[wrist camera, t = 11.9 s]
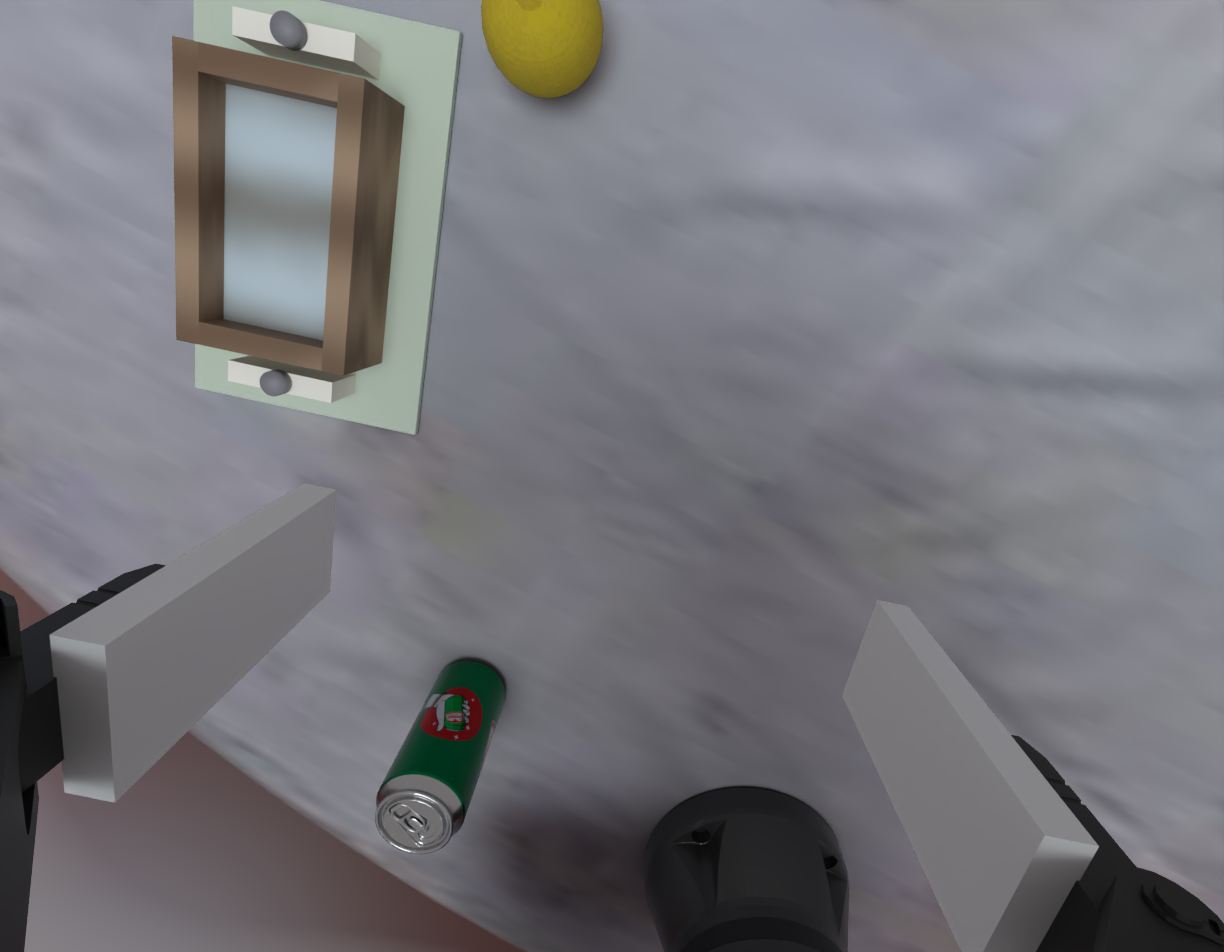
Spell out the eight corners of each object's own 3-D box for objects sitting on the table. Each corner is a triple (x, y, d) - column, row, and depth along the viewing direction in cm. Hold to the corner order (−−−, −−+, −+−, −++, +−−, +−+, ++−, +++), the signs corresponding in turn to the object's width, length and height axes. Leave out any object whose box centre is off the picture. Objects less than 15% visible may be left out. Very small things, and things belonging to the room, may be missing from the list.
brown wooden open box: (381, 362, 38) (343, 375, 33) (235, 331, 38) (176, 339, 33) (404, 106, 34) (364, 78, 29) (240, 69, 33) (172, 35, 29)
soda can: (472, 726, 46) (415, 874, 35) (423, 681, 45) (348, 817, 34) (521, 691, 45) (478, 831, 34) (472, 643, 44) (411, 771, 33)
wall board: (417, 432, 40) (391, 451, 36) (200, 386, 40) (148, 399, 35) (462, 34, 33) (435, 0, 29) (199, -24, 33) (136, -66, 29)
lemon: (498, -2, 32) (451, -87, 25) (604, -12, 32) (591, -102, 24) (509, 118, 34) (469, 73, 26) (611, 110, 34) (600, 62, 26)
